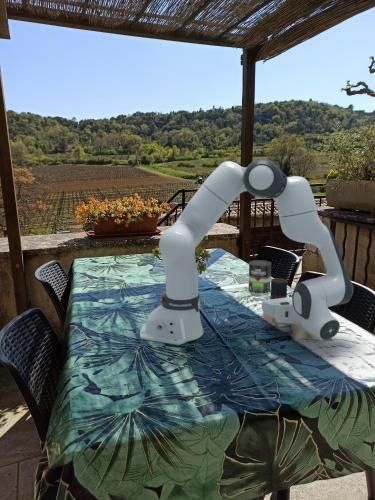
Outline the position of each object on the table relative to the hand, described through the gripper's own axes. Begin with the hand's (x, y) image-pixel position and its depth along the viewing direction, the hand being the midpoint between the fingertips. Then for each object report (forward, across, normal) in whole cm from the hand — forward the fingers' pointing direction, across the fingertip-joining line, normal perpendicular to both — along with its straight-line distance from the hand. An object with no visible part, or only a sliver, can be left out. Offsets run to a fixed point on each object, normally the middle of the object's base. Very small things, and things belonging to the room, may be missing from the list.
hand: (279, 297), depth 129 cm
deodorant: (+1, 0, +9) cm, 9 cm away
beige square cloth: (-14, -4, +8) cm, 17 cm away
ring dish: (+1, 0, +8) cm, 8 cm away
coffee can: (+30, -7, +9) cm, 32 cm away
